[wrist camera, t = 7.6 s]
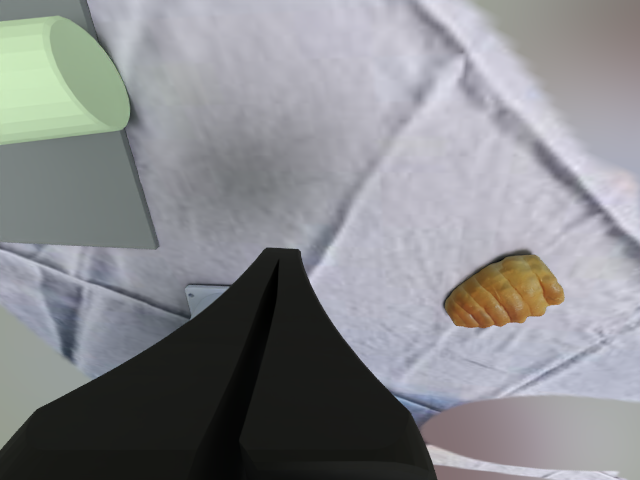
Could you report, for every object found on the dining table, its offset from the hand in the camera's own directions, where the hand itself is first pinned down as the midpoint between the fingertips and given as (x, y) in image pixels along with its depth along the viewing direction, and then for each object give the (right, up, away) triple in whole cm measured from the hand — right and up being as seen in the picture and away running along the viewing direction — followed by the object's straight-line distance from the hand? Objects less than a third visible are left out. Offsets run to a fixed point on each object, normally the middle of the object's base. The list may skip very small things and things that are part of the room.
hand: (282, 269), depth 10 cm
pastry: (+19, -3, +15) cm, 25 cm away
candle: (-10, +10, +3) cm, 14 cm away
